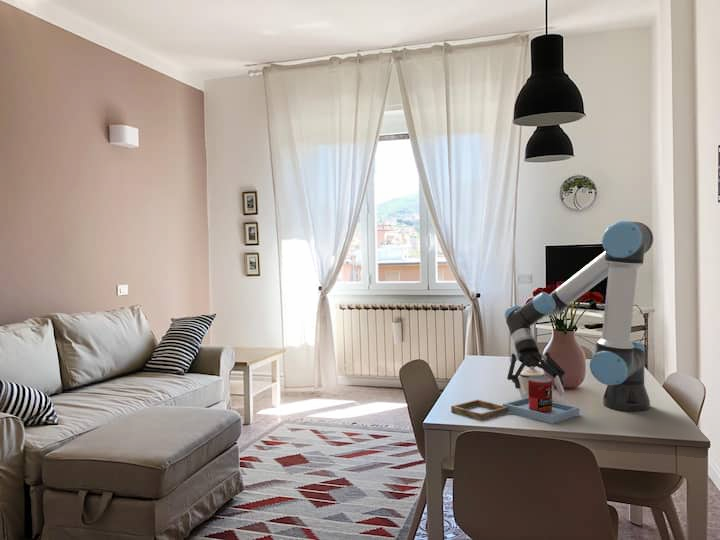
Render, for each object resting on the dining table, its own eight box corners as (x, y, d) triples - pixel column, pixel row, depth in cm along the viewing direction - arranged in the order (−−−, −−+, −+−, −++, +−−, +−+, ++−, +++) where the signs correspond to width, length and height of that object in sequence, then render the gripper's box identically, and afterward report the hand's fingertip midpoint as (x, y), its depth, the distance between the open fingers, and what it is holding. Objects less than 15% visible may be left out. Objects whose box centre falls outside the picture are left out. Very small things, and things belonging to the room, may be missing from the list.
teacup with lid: (543, 400, 217) (543, 369, 217) (518, 398, 221) (517, 367, 221) (546, 393, 228) (546, 363, 228) (522, 391, 232) (522, 362, 232)
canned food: (540, 414, 196) (540, 381, 196) (523, 408, 204) (523, 377, 203) (557, 411, 200) (557, 378, 200) (540, 405, 207) (539, 374, 207)
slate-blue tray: (579, 415, 198) (579, 407, 198) (552, 423, 189) (552, 416, 189) (529, 403, 214) (529, 396, 214) (502, 410, 205) (502, 403, 205)
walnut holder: (508, 412, 203) (507, 407, 203) (481, 420, 194) (481, 414, 194) (477, 405, 213) (477, 399, 213) (451, 411, 205) (451, 406, 205)
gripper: (554, 348, 218) (574, 399, 203) (489, 351, 215) (504, 402, 200) (561, 336, 212) (581, 387, 198) (494, 339, 209) (510, 391, 195)
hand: (543, 395), depth 199 cm, fingers open, 13 cm apart
